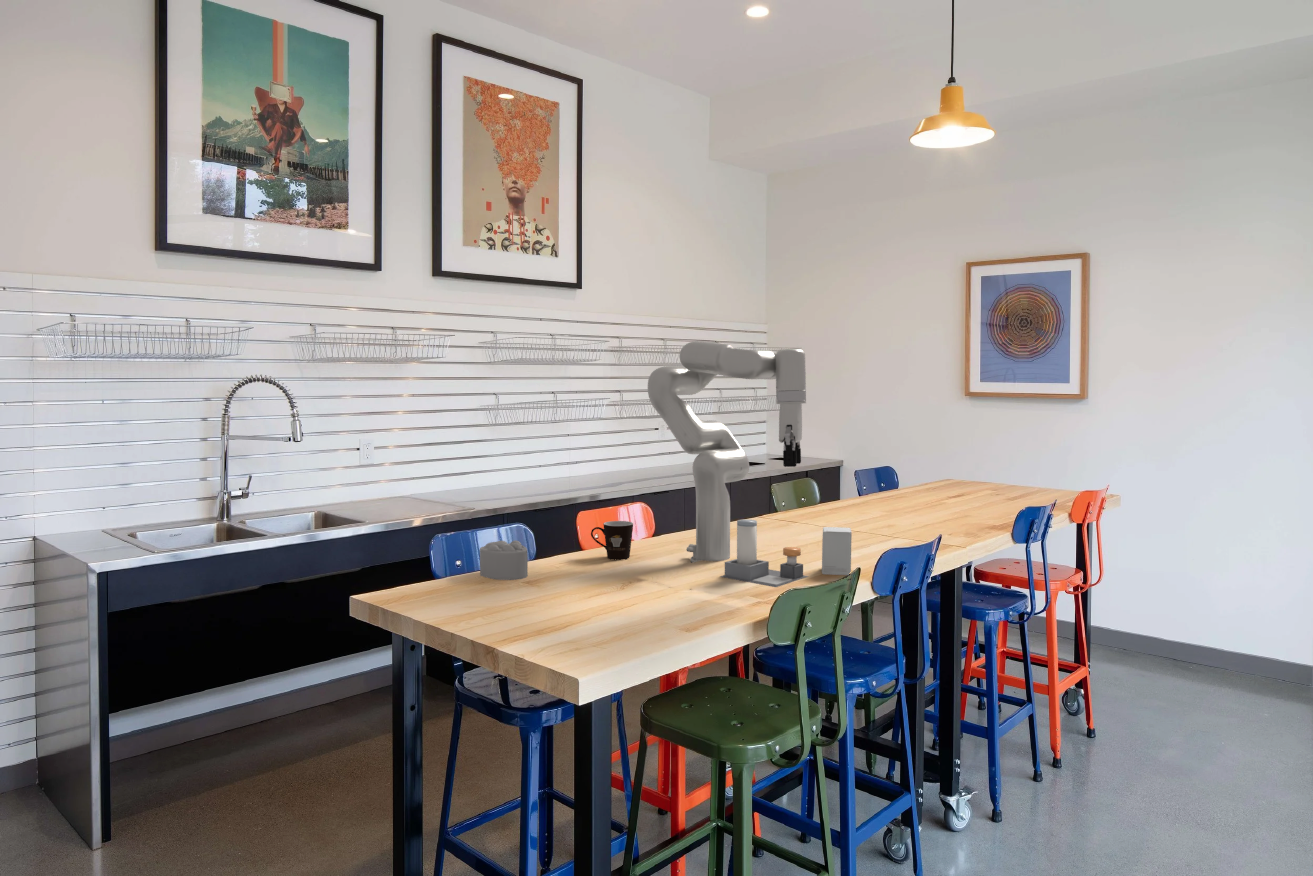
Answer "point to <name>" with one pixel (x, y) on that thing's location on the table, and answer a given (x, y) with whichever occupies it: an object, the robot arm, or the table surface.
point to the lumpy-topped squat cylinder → (504, 561)
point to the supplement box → (836, 550)
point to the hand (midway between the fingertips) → (792, 465)
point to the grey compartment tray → (763, 573)
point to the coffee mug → (616, 539)
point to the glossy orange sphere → (791, 555)
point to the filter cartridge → (747, 542)
